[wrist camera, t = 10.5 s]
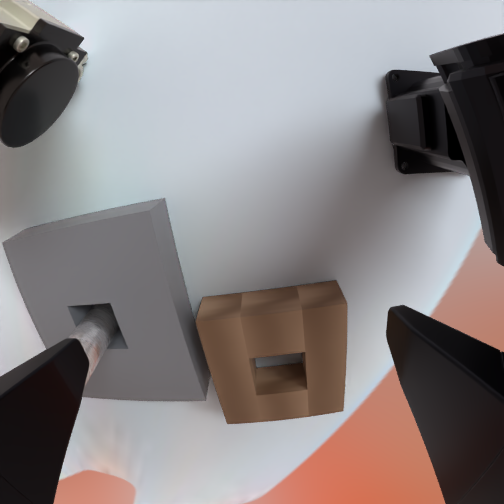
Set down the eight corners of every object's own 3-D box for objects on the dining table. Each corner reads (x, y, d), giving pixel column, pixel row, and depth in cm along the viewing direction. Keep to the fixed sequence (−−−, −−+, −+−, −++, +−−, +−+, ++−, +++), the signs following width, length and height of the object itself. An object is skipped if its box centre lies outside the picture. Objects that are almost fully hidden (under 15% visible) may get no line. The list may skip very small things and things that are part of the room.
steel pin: (122, 290, 21) (68, 367, 13) (132, 318, 22) (87, 400, 14) (95, 293, 22) (37, 365, 14) (106, 320, 22) (56, 396, 14)
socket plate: (164, 197, 19) (149, 210, 16) (210, 373, 24) (205, 400, 21) (25, 229, 20) (2, 242, 17) (85, 374, 25) (73, 395, 22)
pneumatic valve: (95, 138, 17) (-54, 169, 6) (5, 58, 15) (-116, 53, 4) (148, 67, 16) (19, 12, 5) (46, -3, 13) (-67, -43, 2)
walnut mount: (336, 280, 21) (347, 303, 18) (336, 385, 24) (343, 411, 22) (202, 296, 21) (195, 321, 19) (229, 397, 25) (227, 424, 22)
